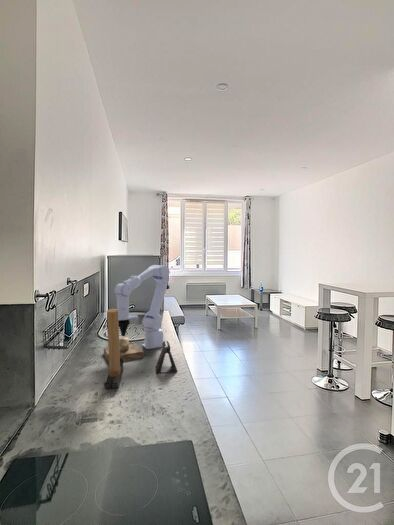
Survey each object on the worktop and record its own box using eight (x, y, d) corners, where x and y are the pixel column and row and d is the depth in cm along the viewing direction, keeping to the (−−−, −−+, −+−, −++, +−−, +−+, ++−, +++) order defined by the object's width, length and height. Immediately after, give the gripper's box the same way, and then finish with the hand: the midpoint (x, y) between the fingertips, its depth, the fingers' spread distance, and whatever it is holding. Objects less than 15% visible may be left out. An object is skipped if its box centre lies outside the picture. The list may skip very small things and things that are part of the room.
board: (135, 348, 158) (135, 343, 158) (143, 357, 146) (143, 351, 145) (103, 353, 150) (103, 347, 150) (109, 363, 138) (109, 356, 138)
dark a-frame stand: (175, 366, 134) (175, 340, 134) (177, 372, 129) (177, 344, 128) (155, 368, 133) (155, 341, 132) (156, 373, 127) (156, 345, 126)
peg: (129, 353, 150) (129, 337, 150) (127, 356, 145) (127, 340, 145) (119, 352, 150) (119, 337, 150) (116, 356, 145) (116, 340, 145)
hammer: (118, 396, 111) (115, 321, 105) (104, 397, 111) (100, 322, 104) (124, 366, 131) (122, 301, 124) (112, 366, 130) (109, 301, 123)
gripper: (135, 305, 154) (135, 331, 154) (106, 307, 147) (106, 335, 148) (139, 307, 148) (139, 335, 148) (109, 310, 141) (109, 339, 141)
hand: (123, 335), depth 147 cm, fingers closed
